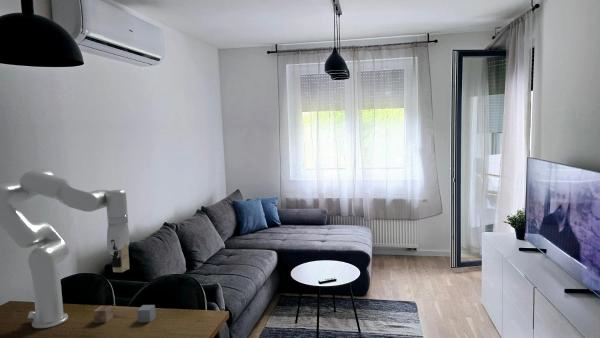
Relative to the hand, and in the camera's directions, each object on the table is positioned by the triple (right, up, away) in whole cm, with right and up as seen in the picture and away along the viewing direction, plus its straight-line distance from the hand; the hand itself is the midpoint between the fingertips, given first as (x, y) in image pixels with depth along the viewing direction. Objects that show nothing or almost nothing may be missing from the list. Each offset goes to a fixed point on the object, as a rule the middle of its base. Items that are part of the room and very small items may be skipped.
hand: (120, 264), depth 168 cm
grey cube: (+11, -22, -1) cm, 25 cm away
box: (0, -3, 0) cm, 3 cm away
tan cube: (-7, -23, 0) cm, 24 cm away
